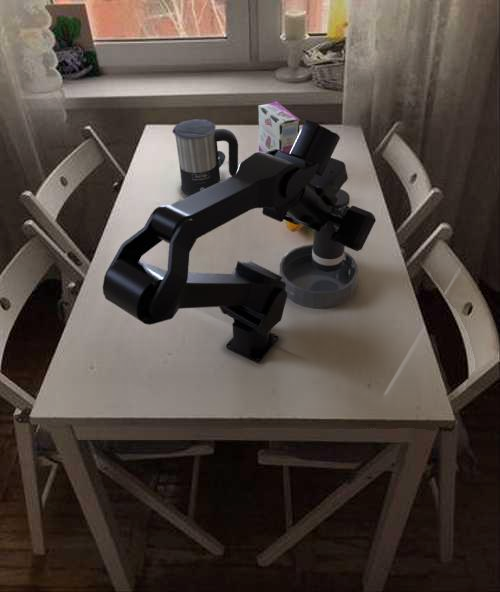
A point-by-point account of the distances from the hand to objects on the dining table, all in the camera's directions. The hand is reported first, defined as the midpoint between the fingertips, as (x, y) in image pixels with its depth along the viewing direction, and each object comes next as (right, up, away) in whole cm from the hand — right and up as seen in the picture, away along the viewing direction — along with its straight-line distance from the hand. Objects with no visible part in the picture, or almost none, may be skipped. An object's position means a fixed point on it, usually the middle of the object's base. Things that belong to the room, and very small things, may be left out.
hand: (334, 226), depth 100 cm
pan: (-2, -10, +5) cm, 12 cm away
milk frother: (-26, +15, +35) cm, 46 cm away
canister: (-1, -6, +4) cm, 7 cm away
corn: (-3, +5, +22) cm, 23 cm away
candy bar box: (-8, +15, +34) cm, 38 cm away
